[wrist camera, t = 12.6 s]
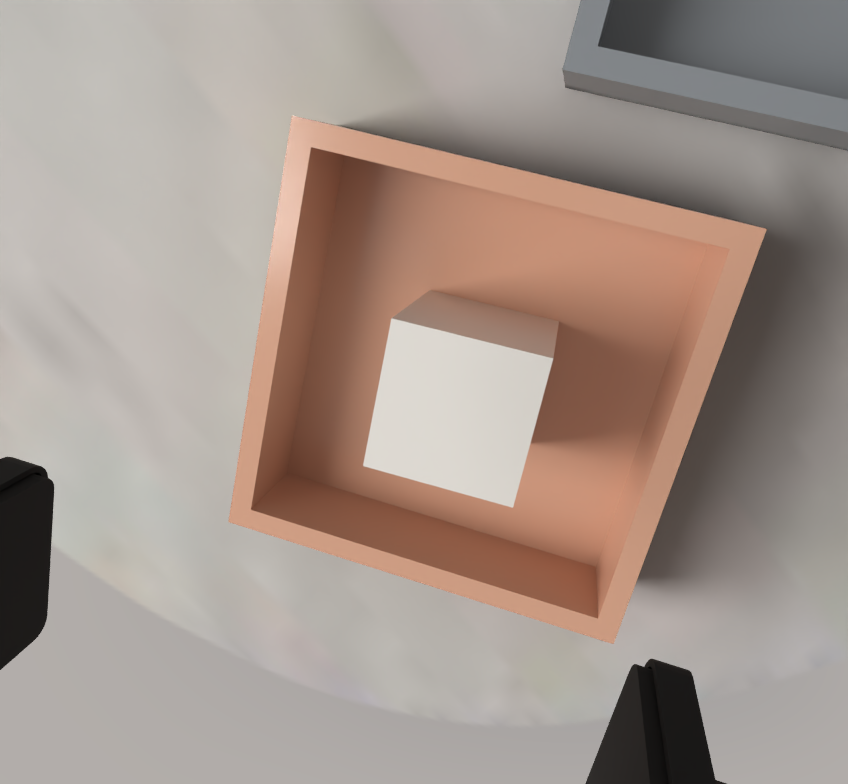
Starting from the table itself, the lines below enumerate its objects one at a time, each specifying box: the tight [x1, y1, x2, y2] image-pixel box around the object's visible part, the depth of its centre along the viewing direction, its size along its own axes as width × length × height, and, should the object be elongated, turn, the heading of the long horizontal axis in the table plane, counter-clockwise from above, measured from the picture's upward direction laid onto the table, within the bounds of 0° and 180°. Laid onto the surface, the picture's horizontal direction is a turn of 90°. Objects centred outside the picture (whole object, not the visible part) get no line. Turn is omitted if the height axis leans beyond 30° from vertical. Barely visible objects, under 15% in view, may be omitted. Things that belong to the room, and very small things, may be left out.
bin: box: [229, 116, 767, 644], centre depth 27 cm, size 15×15×4 cm
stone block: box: [363, 290, 559, 508], centre depth 26 cm, size 5×5×6 cm
